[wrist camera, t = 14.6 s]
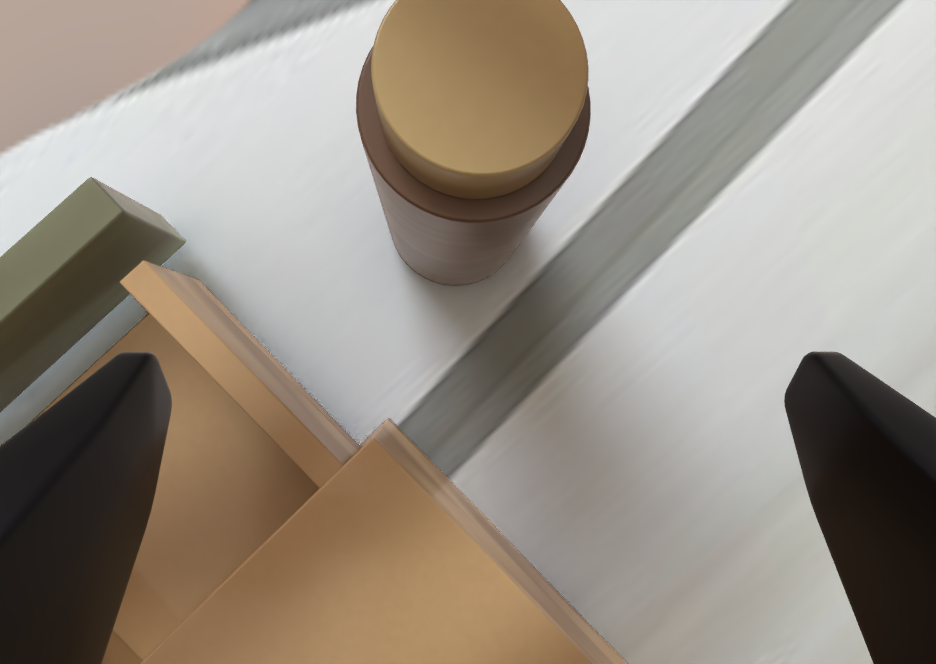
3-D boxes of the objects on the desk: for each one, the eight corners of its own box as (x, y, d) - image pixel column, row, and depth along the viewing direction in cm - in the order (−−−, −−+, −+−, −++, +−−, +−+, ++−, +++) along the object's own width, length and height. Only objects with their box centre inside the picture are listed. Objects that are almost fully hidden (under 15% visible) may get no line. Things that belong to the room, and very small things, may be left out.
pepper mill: (473, 310, 21) (518, 255, 10) (363, 236, 21) (289, 99, 10) (545, 204, 21) (665, 36, 10) (437, 130, 21) (445, -116, 10)
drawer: (-129, 418, 19) (-279, 433, 15) (132, 185, 20) (54, 138, 16) (196, 752, 19) (133, 856, 15) (444, 506, 20) (447, 543, 16)
